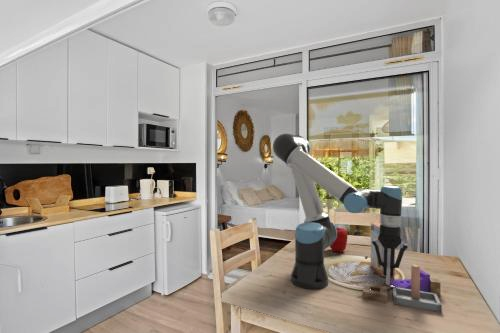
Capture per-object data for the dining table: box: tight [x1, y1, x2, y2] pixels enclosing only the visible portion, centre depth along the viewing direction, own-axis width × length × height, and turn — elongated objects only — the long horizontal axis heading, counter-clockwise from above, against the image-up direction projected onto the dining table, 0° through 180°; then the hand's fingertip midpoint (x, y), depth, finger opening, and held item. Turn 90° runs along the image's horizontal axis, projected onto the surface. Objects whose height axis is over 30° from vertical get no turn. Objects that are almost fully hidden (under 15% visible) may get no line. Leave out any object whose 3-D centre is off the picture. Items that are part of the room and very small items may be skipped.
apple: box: [329, 227, 349, 253], centre depth 157 cm, size 11×10×14 cm
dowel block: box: [362, 282, 389, 304], centre depth 105 cm, size 8×8×2 cm
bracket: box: [390, 269, 431, 293], centre depth 110 cm, size 12×7×7 cm, turn 95°
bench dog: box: [430, 277, 441, 297], centre depth 107 cm, size 3×4×5 cm
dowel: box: [410, 264, 421, 300], centre depth 100 cm, size 3×3×12 cm
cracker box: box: [370, 222, 396, 278], centre depth 128 cm, size 14×6×21 cm, turn 175°
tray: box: [391, 287, 443, 313], centre depth 100 cm, size 14×9×2 cm, turn 66°
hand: (387, 283), depth 113 cm, fingers closed
